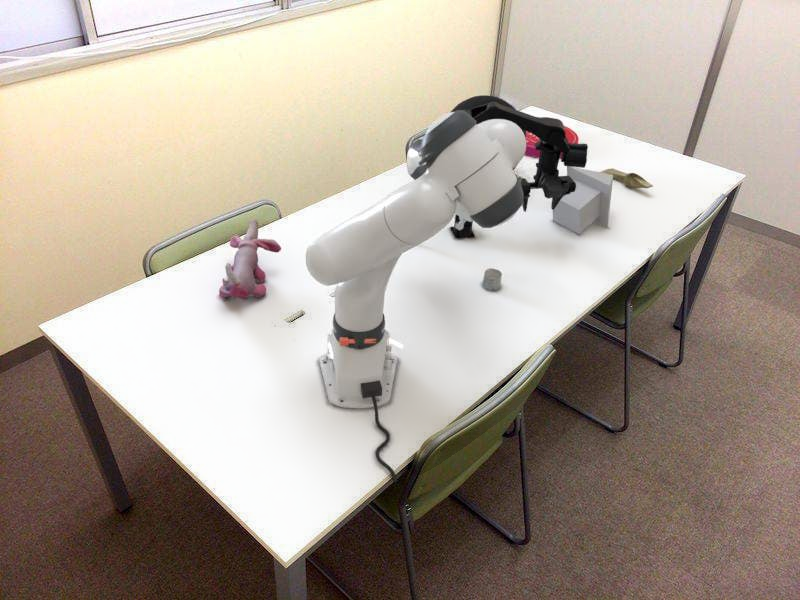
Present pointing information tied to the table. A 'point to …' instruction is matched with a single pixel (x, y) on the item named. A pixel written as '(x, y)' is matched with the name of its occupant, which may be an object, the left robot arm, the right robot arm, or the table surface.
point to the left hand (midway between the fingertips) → (446, 221)
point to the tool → (629, 178)
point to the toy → (247, 265)
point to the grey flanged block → (585, 200)
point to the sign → (532, 139)
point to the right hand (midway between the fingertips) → (538, 210)
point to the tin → (492, 279)
